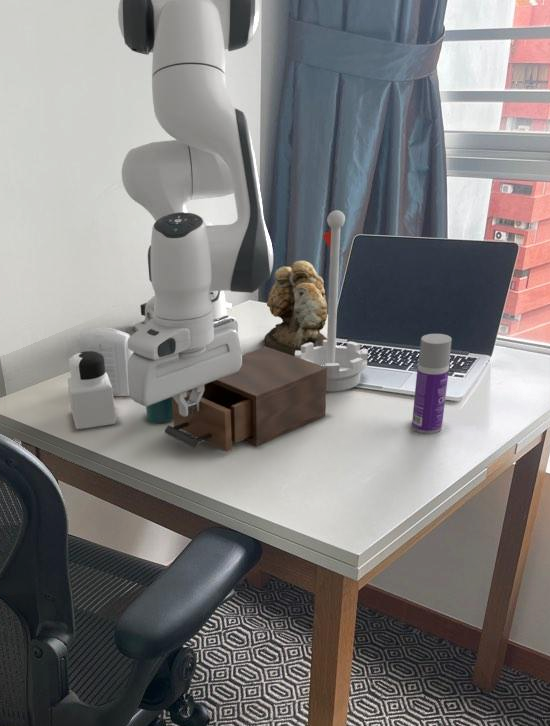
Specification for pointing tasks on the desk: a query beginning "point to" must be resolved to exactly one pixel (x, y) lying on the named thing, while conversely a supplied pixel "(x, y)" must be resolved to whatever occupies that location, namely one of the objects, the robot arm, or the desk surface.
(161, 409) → the tin
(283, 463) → the desk surface
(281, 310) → the owl figurine
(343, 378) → the flag stand
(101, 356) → the medicine bottle
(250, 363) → the cabinet
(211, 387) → the drawer
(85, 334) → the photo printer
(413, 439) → the desk surface
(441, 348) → the container
